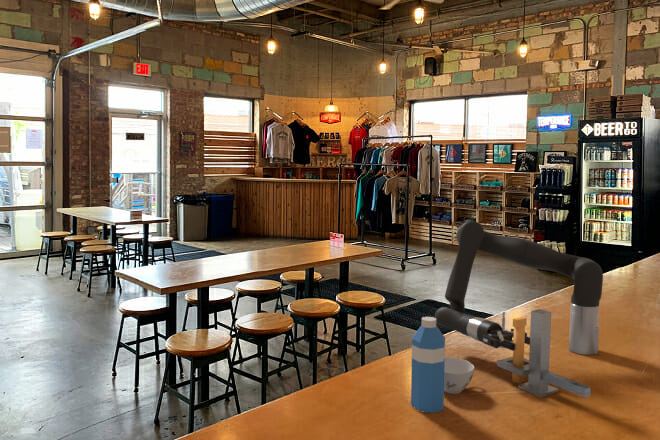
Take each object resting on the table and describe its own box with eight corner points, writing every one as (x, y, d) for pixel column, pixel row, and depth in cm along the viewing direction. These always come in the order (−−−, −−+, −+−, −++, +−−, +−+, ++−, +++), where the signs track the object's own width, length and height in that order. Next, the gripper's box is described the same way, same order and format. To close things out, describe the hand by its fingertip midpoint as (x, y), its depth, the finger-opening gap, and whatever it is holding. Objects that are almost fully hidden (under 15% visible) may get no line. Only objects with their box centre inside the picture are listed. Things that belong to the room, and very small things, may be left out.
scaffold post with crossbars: (496, 379, 173) (498, 304, 170) (516, 373, 178) (518, 300, 175) (576, 414, 149) (580, 328, 147) (596, 406, 154) (601, 322, 151)
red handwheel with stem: (487, 339, 213) (491, 346, 204) (488, 306, 212) (492, 311, 203) (510, 340, 211) (514, 347, 202) (511, 307, 211) (515, 312, 201)
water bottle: (407, 399, 159) (408, 314, 156) (439, 397, 160) (440, 313, 157) (414, 413, 150) (416, 324, 147) (448, 412, 151) (450, 323, 148)
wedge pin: (518, 377, 174) (520, 316, 172) (526, 381, 171) (528, 318, 169) (508, 380, 172) (510, 318, 170) (516, 384, 169) (519, 320, 167)
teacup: (455, 402, 157) (455, 375, 156) (422, 388, 166) (422, 363, 165) (487, 389, 166) (488, 363, 165) (454, 376, 176) (454, 352, 175)
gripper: (468, 323, 178) (508, 336, 164) (499, 316, 186) (540, 329, 172) (468, 345, 179) (507, 361, 165) (498, 338, 186) (539, 352, 173)
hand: (524, 344), depth 169 cm, fingers open, 8 cm apart
